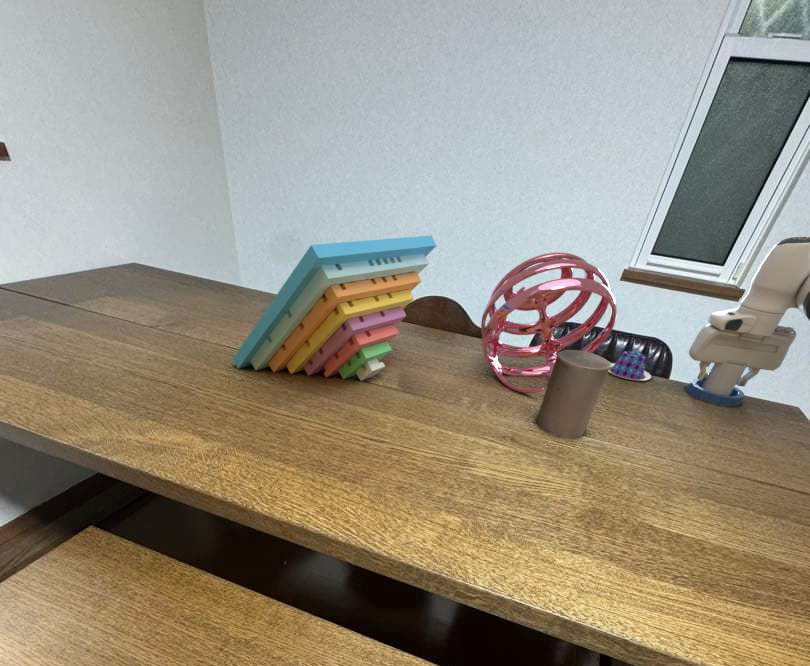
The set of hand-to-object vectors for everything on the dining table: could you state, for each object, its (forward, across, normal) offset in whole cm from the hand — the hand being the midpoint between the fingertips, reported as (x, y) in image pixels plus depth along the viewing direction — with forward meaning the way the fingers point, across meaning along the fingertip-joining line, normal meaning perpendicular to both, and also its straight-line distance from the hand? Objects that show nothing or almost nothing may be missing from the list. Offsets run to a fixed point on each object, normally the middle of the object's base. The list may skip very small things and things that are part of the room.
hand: (720, 382), depth 110 cm
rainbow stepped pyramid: (+4, +93, +13) cm, 94 cm away
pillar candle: (+4, +43, +30) cm, 53 cm away
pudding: (+4, +19, -9) cm, 21 cm away
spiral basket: (+4, +47, +7) cm, 48 cm away
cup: (+4, 0, 0) cm, 4 cm away
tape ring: (+4, 0, 0) cm, 4 cm away
